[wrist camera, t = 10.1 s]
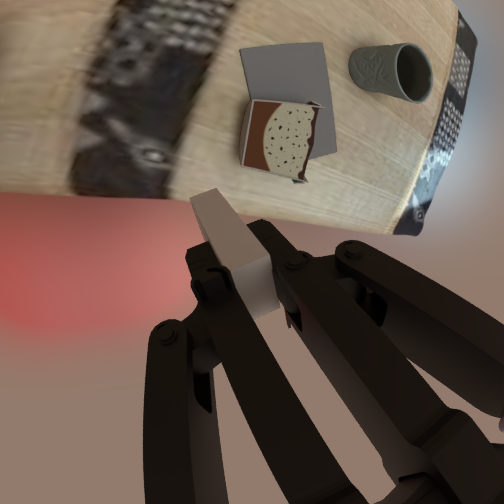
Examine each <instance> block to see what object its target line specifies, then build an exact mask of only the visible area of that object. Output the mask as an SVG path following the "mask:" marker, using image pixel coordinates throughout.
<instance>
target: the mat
mask: <svg viewBox="0 0 504 504" xmlns="http://www.w3.org/2000/svg"><path fill="white" fill-rule="evenodd" d="M239 51H240V55H241V59H242V64H243V68H244V73H245V77H246V82H247V86H248V91H249V95H250V100H252V99H258V100H271V101H282V102H291V103H299V104H306V103H307V102H309V101H314V102H316V103H318V104H320V105H321V107H324V108H323V109H320V110H318V115H317V119H316V124H315V136H314V145H313V148H312V151H311V153H310V156H309V159H308V160H310V159H313V158H317V157H320V156H324V155H328V154H332V153H335V152H337V145H336V133H335V123H334V114H333V106H332V98H331V91H330V84H329V77H328V71H327V65H326V59H325V53H324V48H323V43H295V44H280V45H270V46H261V47H253V48H246V49H240V50H239Z"/></svg>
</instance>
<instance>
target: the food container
mask: <svg viewBox="0 0 504 504" xmlns="http://www.w3.org/2000/svg"><path fill="white" fill-rule="evenodd" d="M323 108H324V107H321V105H320V104H318V103H316V102H314V101H309V102H307V103H306V104H299V103H291V102H282V101H271V100H258V99H252V100H251V101H250V102H249V104H248V106H247V109H246V112H245V115H244V119H243V124H242V129H241V137H240V148H239V159H240V165H241V167H244V168H249V169H253V170H258V171H262V172H266V173H270V174H275V175H279V176H283V177H287V178H291V179H292V181H293V182H294V184H304V182H307V183H309V182H308V181H307V179H306V178H305V175H304V174H305V169H306V165H307V162H308V159H309V156H310V153H311V151H312V148H313V145H314V136H315V124H316V119H317V115H318V110H320V109H323Z"/></svg>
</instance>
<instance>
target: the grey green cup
mask: <svg viewBox="0 0 504 504" xmlns="http://www.w3.org/2000/svg"><path fill="white" fill-rule="evenodd" d="M349 72H350V75H351V78H352V80H353V81H354V82H355V84H356V85H357V86H358V87H360V88H362V89H364V90H368V91H372V92H380V93H383V94H387V95H390V96H393V97H397V98H401V99H403V100H406V101H409V102H412V103H417V104H419V103H422V102H424V101H425V100H426V99H427V98H428V97H429V95H430V93H431V90H432V85H433V73H432V68H431V64H430V62H429V59H428V57H427V56H426V54H425V53H424V52H423V50H422V49H421V48H420V47H419V46H417V45H415V44H412V43H402V44H394V45H392V46H390V45H382V46H377V47H376V46H373V47H365V48H359V49H357V50H355V51H354V52H353V53H352V54H351V56H350V59H349Z"/></svg>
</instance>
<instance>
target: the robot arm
mask: <svg viewBox="0 0 504 504" xmlns="http://www.w3.org/2000/svg"><path fill="white" fill-rule="evenodd" d="M189 199H190V202H191V204H192V207H193V210H194V213H195V216H196V218H197V221H198V224H199V227H200V229H201V232H202V235H203V238H204V240H205V242H204V243H202V244H199V245H197V246H195V247H192V248H190V249H187V253H186V256H185V259H186V262H187V265H188V268H189V271H190V274H191V277H192V280H191V288H192V291H193V293H194V295H195V297H196V298H197V301H198V304H197V306H196V308H195V310H194V311H193V312H192V313H191V314H190V315H189V316H188V317H187V318H185V319H184V320H183V321H179V320H176V319H168V320H165V321H163V322H161V323H160V324H158V325H157V326H155V328H154V329H153V330H152V332H151V334H150V337H149V342H148V352H147V363H146V364H147V365H146V377H145V391H144V392H145V393H144V414H143V472H144V491H145V504H229V502H228V495H227V489H226V482H225V476H224V469H223V461H222V453H221V445H220V437H219V428H218V419H217V411H216V399H215V390H214V377H213V368H214V367H215V366H217V365H218V364H219V363H222V365H223V367H224V370H225V372H226V375H227V377H228V380H229V382H230V384H231V387H232V389H233V391H234V393H235V396H236V398H237V400H238V403H239V405H240V407H241V409H242V412H243V414H244V416H245V418H246V420H247V423H248V425H249V427H250V429H251V431H252V433H253V435H254V437H255V440H256V442H257V444H258V446H259V448H260V450H261V451H262V454H263V456H264V458H265V460H266V462H267V464H268V466H269V468H270V470H271V471H272V473H273V475H274V477H275V479H276V481H277V483H278V485H279V486H280V488H281V490H282V492H283V494H284V496H285V497H286V499H287V501H288V503H289V504H369V503H368V502H367V501H366V499H365V498H364V496H363V495H362V494H361V493H360V492H359V490H358V489H357V488H356V487H355V486H354V485H353V484H352V483H351V482H350V480H349V479H348V477H347V476H346V474H345V473H344V471H343V470H342V468H341V467H340V465H339V464H338V462H337V460H336V459H335V457H334V456H333V454H332V453H331V451H330V449H329V448H328V446H327V445H326V443H325V442H324V440H323V438H322V437H321V435H320V433H319V432H318V430H317V428H316V427H315V425H314V424H313V422H312V420H311V419H310V417H309V415H308V414H307V412H306V410H305V409H304V407H303V405H302V404H301V402H300V400H299V399H298V397H297V395H296V394H295V392H294V390H293V388H292V387H291V385H290V383H289V382H288V380H287V378H286V377H285V375H284V373H283V371H282V370H281V368H280V366H279V364H278V363H277V361H276V359H275V358H274V356H273V354H272V352H271V350H270V349H269V347H268V345H267V343H266V342H265V340H264V338H263V336H262V334H261V333H260V331H259V329H258V327H257V325H256V324H255V322H254V319H256V318H259V317H261V316H263V315H265V314H267V313H269V312H272V311H274V310H276V309H278V308H280V303H279V300H280V302H281V303H282V305H283V306H284V309H285V315H286V321H287V325H288V328H291V324H292V326H293V327H294V329H295V330H296V332H297V333H298V335H299V336H300V338H301V339H302V341H303V342H304V344H305V345H306V347H307V348H308V349H309V351H310V353H311V354H312V356H313V357H314V359H315V360H316V362H317V363H318V365H319V366H320V368H321V369H322V371H323V372H324V373H325V375H326V376H327V378H328V379H329V381H330V382H331V384H332V385H333V387H334V388H335V390H336V391H337V393H338V394H339V396H340V397H341V398H342V400H343V401H344V403H345V404H346V406H347V407H348V409H349V410H350V412H351V413H352V415H353V416H354V418H355V419H356V421H357V422H358V424H359V425H360V427H361V428H362V429H363V431H364V432H365V434H366V435H367V437H368V438H369V440H370V441H371V443H372V444H373V445H374V447H375V448H376V450H377V451H378V453H379V454H380V456H381V458H382V462H383V466H384V468H385V470H386V471H387V473H388V475H389V476H390V477H391V479H392V480H393V482H394V483H395V485H396V487H395V488H394V489H393V490H392V491H391V492H390V493H389V494H388V495H387V496H386V497H385V498H384V499H383V500H381V501H379V502H377V503H374V504H504V444H498V443H497V444H496V443H490V442H489V441H488V439H487V438H486V437H485V435H484V434H483V433H482V431H481V430H480V429H479V427H478V426H477V425H476V423H475V422H474V421H473V419H472V418H471V417H470V416H469V415H468V414H467V413H465V412H463V411H461V410H458V409H451V408H449V407H447V406H446V405H445V404H444V403H443V401H442V400H441V399H440V398H439V397H438V395H437V394H436V393H435V392H434V391H433V389H432V388H431V387H430V386H429V384H428V383H427V382H426V381H425V380H424V378H423V377H422V376H421V375H420V374H419V372H418V371H417V370H416V369H415V368H414V367H413V365H412V364H411V363H410V362H409V361H408V360H407V358H408V359H409V360H411V361H412V362H413V363H415V364H416V365H417V366H419V367H420V368H422V369H423V370H425V371H426V372H427V373H428V374H430V375H431V376H433V377H434V378H436V379H437V380H438V381H440V382H441V383H442V384H444V385H445V386H447V387H448V388H449V389H451V390H452V391H454V392H455V393H456V394H458V395H459V396H460V397H462V398H463V399H464V400H466V401H467V402H469V403H470V404H472V405H473V406H474V407H476V408H477V409H479V410H480V411H482V412H484V413H486V414H489V415H491V416H494V417H498V418H501V419H500V421H499V429H500V431H501V432H504V325H503V324H502V323H500V322H499V321H497V320H496V319H494V318H493V317H491V316H490V315H488V314H487V313H485V312H484V311H482V310H481V309H479V308H478V307H476V306H474V305H473V304H471V303H470V302H468V301H466V300H465V299H463V298H462V297H460V296H458V295H457V294H455V293H453V292H452V291H450V290H448V289H447V288H445V287H443V286H442V285H440V284H438V283H437V282H435V281H433V280H431V279H430V278H428V277H426V276H425V275H423V274H421V273H419V272H417V271H415V270H414V269H412V268H410V267H408V266H407V265H405V264H403V263H401V262H400V261H398V260H396V259H394V258H392V257H390V256H388V255H386V254H385V253H383V252H381V251H379V250H377V249H375V248H373V247H371V246H369V245H368V244H366V243H363V242H361V241H357V240H348V241H344V242H342V243H340V244H339V245H338V246H337V247H336V250H335V254H334V255H328V256H323V257H313V256H312V255H310V254H309V253H307V252H304V251H297V249H296V248H295V247H294V246H293V245H292V244H291V243H290V242H289V241H288V240H287V239H286V238H285V237H284V236H283V235H282V234H281V233H280V232H279V231H278V230H277V229H276V228H275V227H274V226H273V224H271V222H268V221H266V220H263V219H260V220H257V221H254V222H252V223H249V224H247V225H246V224H245V223H244V222H243V220H242V219H241V218H240V217H239V216H238V214H237V213H236V212H235V211H234V209H233V208H232V207H231V206H230V204H229V203H228V202H227V201H226V199H225V198H224V197H223V196H222V194H221V193H220V192H219V191H218V189H217V188H214V189H212V190H209V191H206V192H204V193H201V194H199V195H196V196H193V197H191V198H189Z"/></svg>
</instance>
